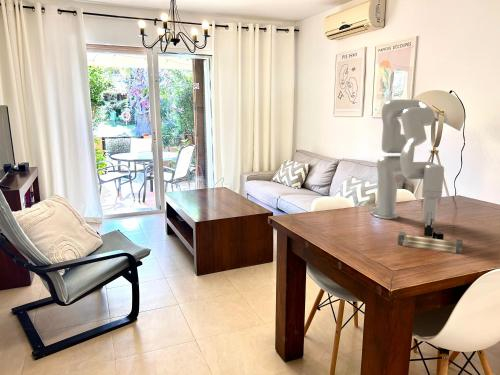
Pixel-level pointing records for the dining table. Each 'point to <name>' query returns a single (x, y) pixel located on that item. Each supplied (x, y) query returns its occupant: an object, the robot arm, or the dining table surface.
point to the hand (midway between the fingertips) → (428, 235)
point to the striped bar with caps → (430, 243)
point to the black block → (438, 235)
